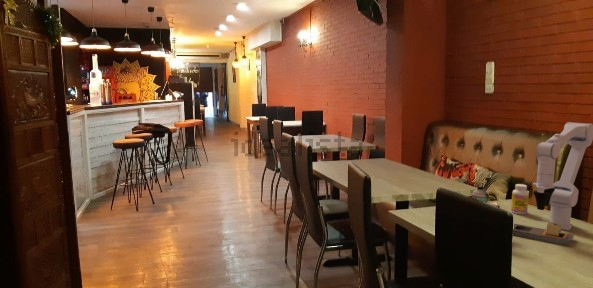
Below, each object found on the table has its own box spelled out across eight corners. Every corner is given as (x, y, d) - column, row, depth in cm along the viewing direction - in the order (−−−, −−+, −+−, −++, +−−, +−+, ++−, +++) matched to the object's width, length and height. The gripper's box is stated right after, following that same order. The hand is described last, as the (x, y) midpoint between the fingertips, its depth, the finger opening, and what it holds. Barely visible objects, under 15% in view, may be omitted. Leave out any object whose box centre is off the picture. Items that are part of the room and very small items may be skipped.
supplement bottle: (512, 214, 204) (514, 186, 202) (509, 210, 210) (511, 183, 208) (528, 215, 202) (530, 187, 200) (525, 211, 208) (527, 184, 206)
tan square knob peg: (548, 236, 174) (549, 221, 173) (560, 239, 171) (561, 223, 170) (545, 239, 171) (547, 224, 170) (557, 242, 168) (559, 226, 167)
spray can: (484, 235, 175) (488, 184, 173) (485, 239, 170) (489, 187, 168) (469, 233, 177) (472, 183, 175) (470, 238, 172) (473, 186, 169)
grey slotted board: (510, 227, 184) (511, 222, 184) (573, 239, 171) (573, 234, 170) (504, 233, 177) (505, 228, 177) (569, 246, 164) (569, 240, 163)
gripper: (538, 169, 183) (535, 202, 184) (529, 174, 171) (527, 209, 173) (558, 171, 178) (555, 205, 180) (550, 177, 167) (547, 212, 169)
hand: (542, 207), depth 176 cm, fingers open, 7 cm apart
